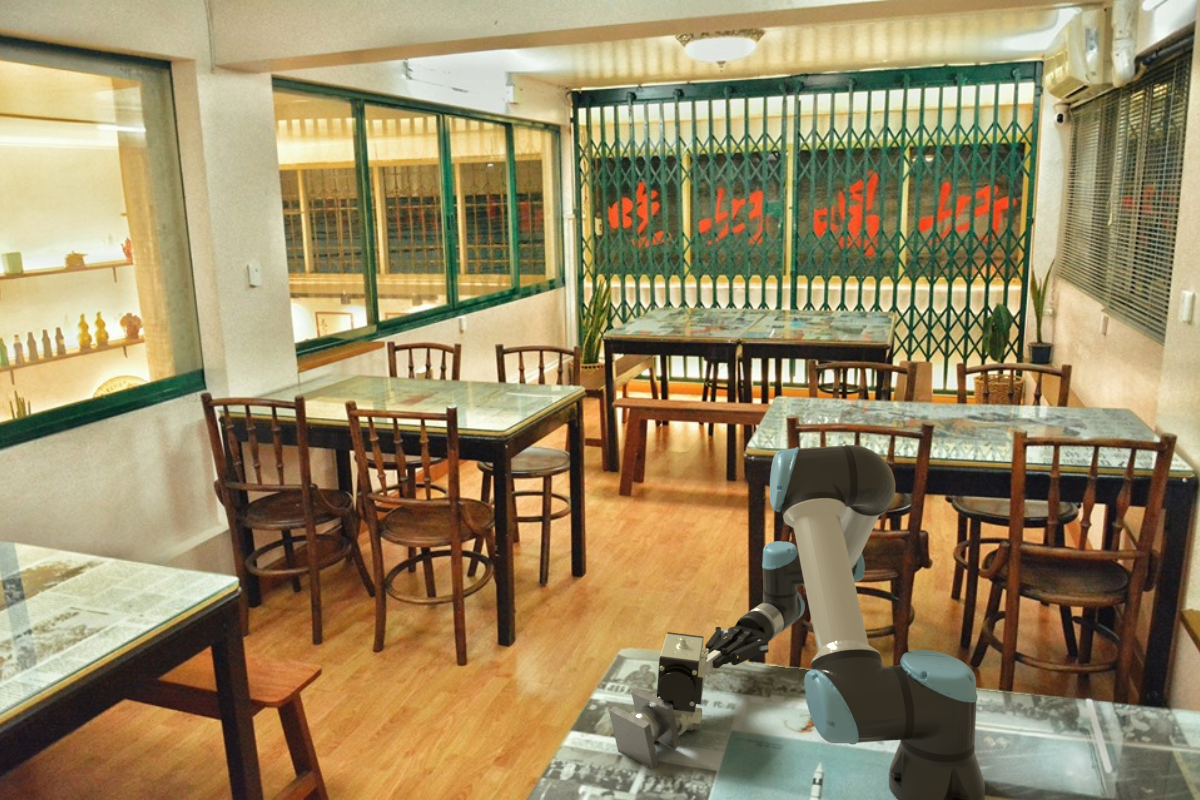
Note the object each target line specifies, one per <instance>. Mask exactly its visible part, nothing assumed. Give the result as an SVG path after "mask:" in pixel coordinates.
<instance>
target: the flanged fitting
mask: <svg viewBox="0 0 1200 800" xmlns="http://www.w3.org/2000/svg"><path fill="white" fill-rule="evenodd" d="M631 697H632V702H633V706H634V711H635V713H633V714H632V713H631V712H628V711H626V710H624V709H622V708H620V707H618V706H616V705H614V706H612V707H611V708H610V709H608V714H609V717H610V722H611V727H612V731H613V734H614V740H615V743H616V749H617V751H618V752H620V753H622V754H624V755H626V756H628V757H629V758H631V759H633V760H635V761H637V762H638V763H640V764H642V765H644V766H646V767H647V768H649V769H651V770H654V769H655V768H657V767H658V766H659V760H658V759H659V758H658V755H657V751H656V747H655V742H659V743H661V744H663V745H665V746H667V747H669V748H670V749H673V750H676V749H678V748H679V747H680V746H681V742H680V736H679V735H678V730H677V725H676V720H675V716H674V711H673V706H672V704H670V703H668V702H663V701H662V700H661V699H659V698H657V696H656V695H653V694H650V693H649V692H647V691H644V690H642V689H639V688H638V687H636V688H635V689H633V690H632V691H631Z"/></svg>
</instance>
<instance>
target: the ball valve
mask: <svg viewBox="0 0 1200 800" xmlns="http://www.w3.org/2000/svg"><path fill="white" fill-rule="evenodd" d="M704 638H705V637H704V636H702V635H695V634H694V635H693V634H685V633H678V632H672V631H669V632H668V631H667V633H666V635H665V639H664V641H663V646H662V649H661V652H660V656H659V660H658V670H657V671H658V672H657V673H658V675H657V685H656V686H657V687H656V688H657V690H656V697H657V698H659V699H661V700H662V701H663V702H668V703H670V704H672V706H673V711H674V716H675V720H676V725H677V730H678V735H679V737H680V736H681V735H682V734H684V733H685V732H686V731H692V732H693V730H697V731H701V728H702V721H703V719H702V718H703V708H702V707H697V705H701V704H702V699H703V695H704V694H703V692H704V687H705V680H706V676H707V675H706V663H707V658H708V651H709V649H707V648H706V650H705V648H704ZM705 675H706V676H705Z"/></svg>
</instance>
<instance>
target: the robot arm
mask: <svg viewBox="0 0 1200 800" xmlns="http://www.w3.org/2000/svg"><path fill="white" fill-rule="evenodd" d="M770 469H771V470H770V475H769V476H770V477H769V501H770V502H769V503H770V506H771V509H772V510H773V511H774V512H777V513H780V512H781V513H782V518H783V522H784V523H785V524H786V525H788V526H789V527H791V528H793V532H794V535H795V536H794V537H795V541H796V545H795V544H794V543H792V542H789V541H781V540H778V541H777V540H776V541H772V542H771V541H770V542H769V543H767V544H766V545H764V547H763V549H762V563H761V566H762V579H763V580H762V582H763V583H762V585H763V588H762V589H763V590H762V599H763V600H762V602H761V603H760V604H759V605H757V606H755V607H754V608H752V609H751V610H749V612H747V613H745V614H744V615H742V616H741V617H740V618H738V620H737V622H736V624H735V625H734V626H731V627H729V628H728V629H725V630H724V629H723V628H722V627H720V626H715V628H714V629H715V632H714V633H713V634H712V636H711V637H710V638H709V640H708V641H707V642H706V643H705V644H704V645H705V646H704V647H705V648H704V649H705V650H706V648H707V649H709V651H708V658H707V663H706V675H705V677H706V676H707V675H709V674H710V673H711V672H712V671H714V670H715V669H720V668H721V667H722V666H724V665H727V664H729V663H730V664H731V665H732V666H738V665H739V664H741V663H743V662H746V661H748V660H750V659H752V658H755V657H758V656H759V655H763V654H767V653H768V654H769V649H770V648H769V642H771V641H772V640H774V638H776V637H777V636H778V635H780V634H781V633H782V632H784V631H785V630H787V629H788V628H789V627H791V626H793V625H794V624H795V623H796V622H797V621H798V620H799V619H800V618H801V617H802V616H803V614H804V613H805V610H806V609H805V606H806V605H805V601H804V598H803V597H802V595H801V593H799V591H798V586H804V589H805V593H806V598H807V599H806V600H807V604H808V609H809V614H810V619H811V624H812V629H813V635H814V639H815V645H816V649H817V653H816V655H815V656H814V657H813V658H812V660H811V661H810V666H811V669H809V670H808V671H807V672H806V673H805V675H804V680H803V685H804V687H803V688H804V691H805V701H806V704H807V709H808V712H809V715H810V717H811V721H812V723H813V725H814V727H815V729H816V731H817V733H818V734H819V735H820V737H821V738H822V739H823V740H824V741H826V742H828V743H829V744H849V745H856V744H859V743H861V744H862V743H873V742H886V741H887V742H888V741H889V742H890V741H899V744H898V746H897V749H896V751H895V754H894V756H893V758H892V762H891V764H890V766H889V770H888V787H889V789H890V792H891V793H892V795H893V796H894V797H895V798H896V800H986V799H985V797H986V795H985V794H986V784H985V780H984V776H983V773H982V771H981V767H980V764H979V762H978V758H977V756H976V753H975V748H976V747H975V741H976V719H977V701H978V694H977V678H976V674H975V672H974V671H973V670H972V668H971V667H969V665H967V664H966V663H965V662H964V661H962V660H960V659H958V658H957V657H954V656H952V655H949V654H947V653H944V652H940V651H935V650H929V649H911V650H909V651H907V652H904V653H903V654H902V655H901V658H900V661H899V662H900V663H899V665H883V661H882V655H881V653H880V651H879V650H877V649H876V648H874V647H872V645H870V644H869V640H868V636H867V633H866V632H867V631H866V627H865V623H864V618H863V614H862V609H861V605H860V604H861V603H860V600H859V596H858V591H857V588H856V582H860V581H862V580H863V578H864V577H865V569H866V568H865V567H866V566H865V560H864V556H863V550H864V549H865V547H866V545H867V542H868V540H869V538H870V536H871V534H872V531H873V530H874V527H875V526H876V523H877V521H878V519H879V517H880V516H882V515H883V514H885V513H886V512H887V511H888V510H889V509H890V506H891V504H892V503H893V500H894V498H895V493H896V480H895V476H894V473H893V471H892V469H891V467H890V466H889V464H888V463H887V462H886V460H885V459H884V458H883V457H882V456H880V455H879V454H878V453H877V452H875V451H874V450H872V449H869V448H867V447H865V446H861V445H857V444H846V445H833V446H816V447H799V446H796V447H793V448H787V449H780V450H778V451H777V452H776V453H775V454H774V456H773V458H772V462H771V467H770Z"/></svg>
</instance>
